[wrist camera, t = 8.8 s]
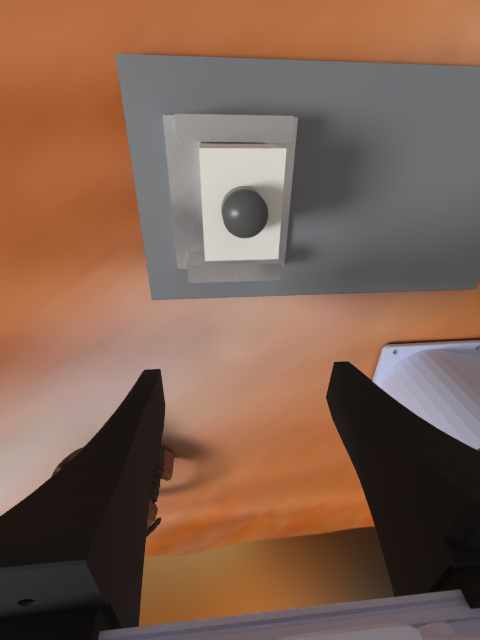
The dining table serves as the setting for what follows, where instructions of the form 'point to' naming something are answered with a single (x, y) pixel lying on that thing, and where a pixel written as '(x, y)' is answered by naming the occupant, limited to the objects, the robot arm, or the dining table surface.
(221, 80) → the board
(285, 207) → the end holder
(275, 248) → the connector
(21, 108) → the dining table surface
